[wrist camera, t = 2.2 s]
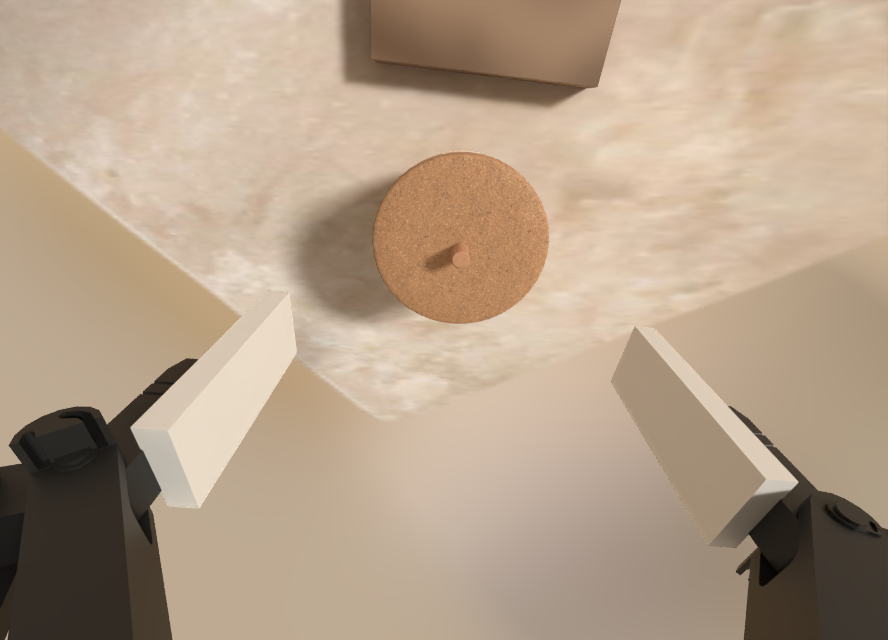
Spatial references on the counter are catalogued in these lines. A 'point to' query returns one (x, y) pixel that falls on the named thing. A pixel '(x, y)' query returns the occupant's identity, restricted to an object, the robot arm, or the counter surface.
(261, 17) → the counter surface
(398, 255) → the lidded jar
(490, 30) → the walnut board
